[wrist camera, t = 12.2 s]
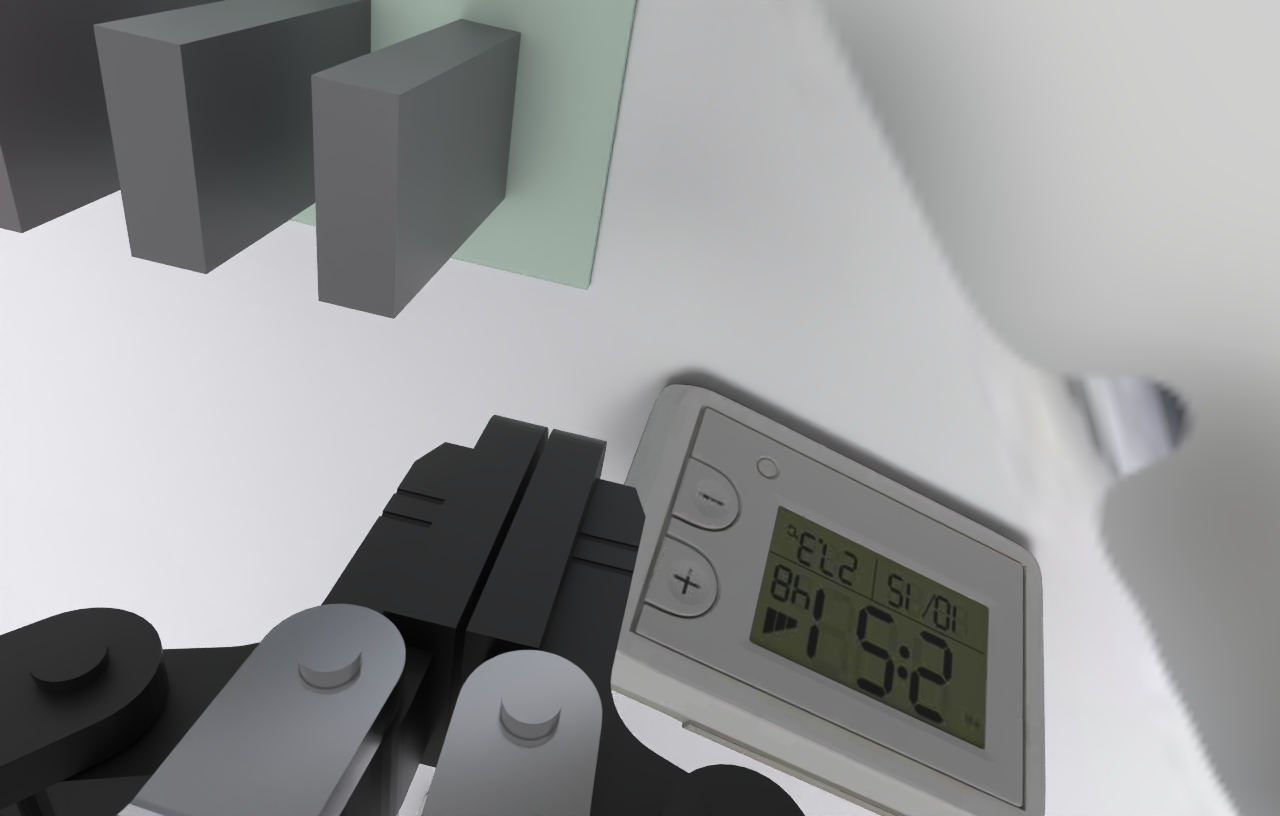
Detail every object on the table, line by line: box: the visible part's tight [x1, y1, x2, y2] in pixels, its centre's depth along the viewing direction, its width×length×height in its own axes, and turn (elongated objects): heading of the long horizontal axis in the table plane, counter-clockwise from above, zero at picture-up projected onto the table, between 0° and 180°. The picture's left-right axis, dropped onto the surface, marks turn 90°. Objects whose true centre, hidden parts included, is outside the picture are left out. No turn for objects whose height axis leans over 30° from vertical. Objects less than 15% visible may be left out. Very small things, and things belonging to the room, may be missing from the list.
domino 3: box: [311, 19, 521, 318], centre depth 21 cm, size 5×2×9 cm, turn 170°
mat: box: [290, 0, 636, 290], centre depth 25 cm, size 10×26×1 cm, turn 80°
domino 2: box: [93, 0, 371, 274], centre depth 21 cm, size 5×2×9 cm, turn 170°
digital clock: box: [611, 384, 1045, 816], centre depth 27 cm, size 16×9×11 cm, turn 53°
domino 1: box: [0, 0, 225, 233], centre depth 22 cm, size 5×2×9 cm, turn 170°
